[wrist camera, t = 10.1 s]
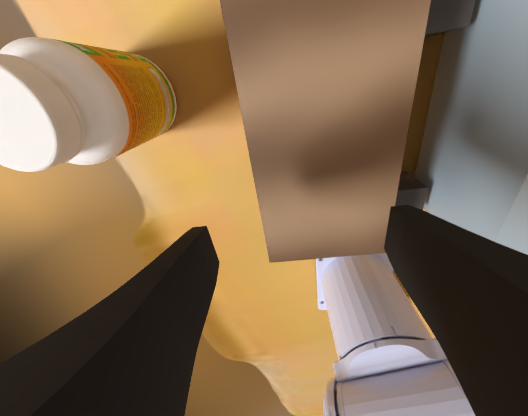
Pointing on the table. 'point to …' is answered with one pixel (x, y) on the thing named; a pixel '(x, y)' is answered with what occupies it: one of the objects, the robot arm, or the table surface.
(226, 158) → the table surface
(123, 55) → the supplement bottle
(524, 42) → the door panel
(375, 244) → the cabinet
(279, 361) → the table surface
